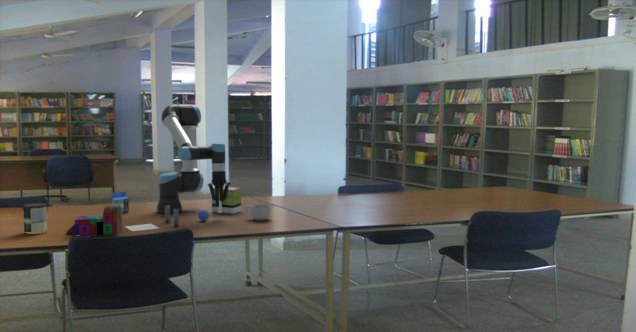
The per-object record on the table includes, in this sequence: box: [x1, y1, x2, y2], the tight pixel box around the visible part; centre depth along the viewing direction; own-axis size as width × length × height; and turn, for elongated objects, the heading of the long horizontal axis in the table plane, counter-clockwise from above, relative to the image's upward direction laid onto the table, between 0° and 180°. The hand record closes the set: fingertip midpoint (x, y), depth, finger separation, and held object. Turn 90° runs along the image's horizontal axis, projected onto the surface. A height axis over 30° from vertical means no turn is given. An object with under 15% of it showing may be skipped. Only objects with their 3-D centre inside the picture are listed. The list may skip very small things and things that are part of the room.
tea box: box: [211, 186, 242, 215], centre depth 333 cm, size 15×10×15 cm
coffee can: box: [22, 202, 48, 232], centre depth 272 cm, size 10×10×14 cm
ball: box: [197, 209, 210, 222], centre depth 304 cm, size 6×6×6 cm
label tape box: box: [111, 191, 130, 214], centre depth 328 cm, size 9×4×12 cm, turn 131°
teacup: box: [244, 203, 271, 222], centre depth 309 cm, size 14×11×8 cm
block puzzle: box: [65, 204, 123, 237], centre depth 273 cm, size 25×17×14 cm
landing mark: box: [124, 223, 160, 232], centre depth 285 cm, size 14×14×1 cm
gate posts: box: [164, 206, 180, 228], centre depth 294 cm, size 16×3×9 cm, turn 35°
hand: (219, 212), depth 309 cm, fingers closed
